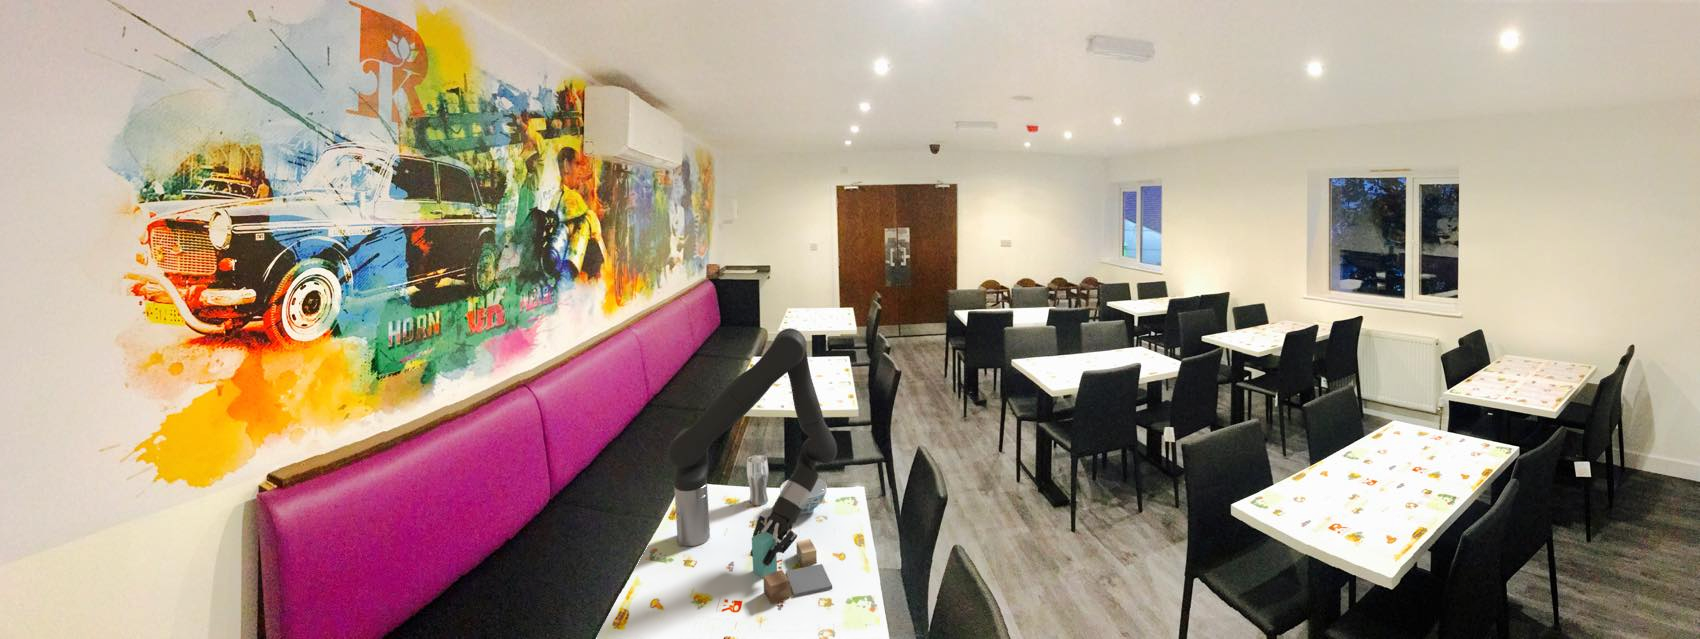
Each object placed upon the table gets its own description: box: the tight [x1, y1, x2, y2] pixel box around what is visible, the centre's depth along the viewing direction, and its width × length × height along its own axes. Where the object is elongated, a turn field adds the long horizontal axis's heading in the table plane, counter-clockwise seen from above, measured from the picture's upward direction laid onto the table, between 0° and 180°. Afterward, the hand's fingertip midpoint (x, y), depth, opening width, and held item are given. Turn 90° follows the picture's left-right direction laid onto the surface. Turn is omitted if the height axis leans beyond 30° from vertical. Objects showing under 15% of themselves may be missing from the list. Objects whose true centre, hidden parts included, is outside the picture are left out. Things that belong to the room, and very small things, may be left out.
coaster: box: [785, 563, 833, 598], centre depth 155 cm, size 10×10×1 cm
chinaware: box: [779, 478, 828, 515], centre depth 191 cm, size 15×15×8 cm
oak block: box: [795, 538, 818, 567], centre depth 164 cm, size 6×4×4 cm, turn 20°
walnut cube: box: [762, 569, 791, 605], centre depth 149 cm, size 5×5×5 cm
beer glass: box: [746, 454, 769, 507], centre depth 196 cm, size 7×7×15 cm
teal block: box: [751, 532, 778, 578], centre depth 158 cm, size 4×4×10 cm
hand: (759, 560), depth 157 cm, fingers closed on teal block, 4 cm apart
